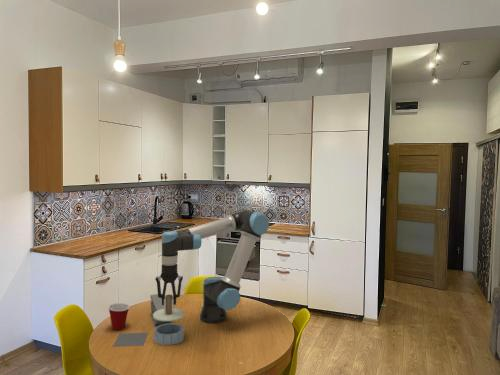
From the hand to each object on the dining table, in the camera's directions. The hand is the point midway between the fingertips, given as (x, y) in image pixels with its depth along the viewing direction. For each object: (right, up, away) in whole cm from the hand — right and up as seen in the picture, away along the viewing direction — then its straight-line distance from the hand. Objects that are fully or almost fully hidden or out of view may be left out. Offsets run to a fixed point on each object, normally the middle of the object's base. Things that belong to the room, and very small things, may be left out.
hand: (168, 311), depth 180 cm
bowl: (0, -14, +1) cm, 14 cm away
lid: (0, -2, 0) cm, 2 cm away
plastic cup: (-28, -13, +12) cm, 34 cm away
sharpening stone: (-10, -13, +23) cm, 28 cm away
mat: (-18, -14, -1) cm, 23 cm away
